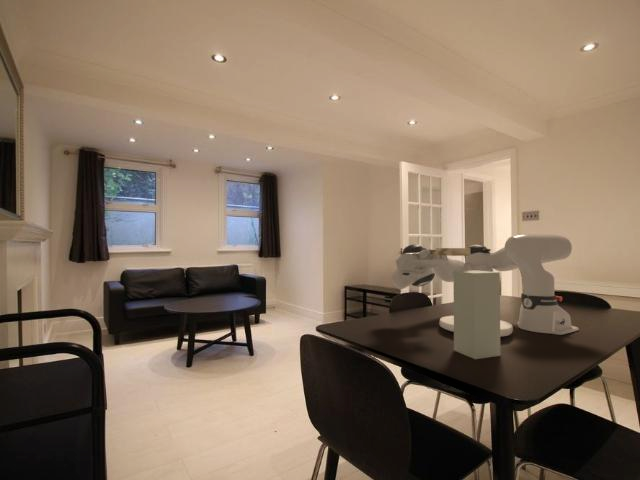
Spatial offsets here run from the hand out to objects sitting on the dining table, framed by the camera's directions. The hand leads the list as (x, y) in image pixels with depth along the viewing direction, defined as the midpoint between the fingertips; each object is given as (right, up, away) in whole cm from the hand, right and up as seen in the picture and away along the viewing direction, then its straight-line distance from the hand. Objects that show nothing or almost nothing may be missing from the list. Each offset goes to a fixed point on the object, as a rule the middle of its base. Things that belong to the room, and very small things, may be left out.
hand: (433, 250), depth 126 cm
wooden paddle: (+2, -1, -5) cm, 6 cm away
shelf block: (+7, -32, -20) cm, 39 cm away
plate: (+18, -33, +5) cm, 38 cm away
